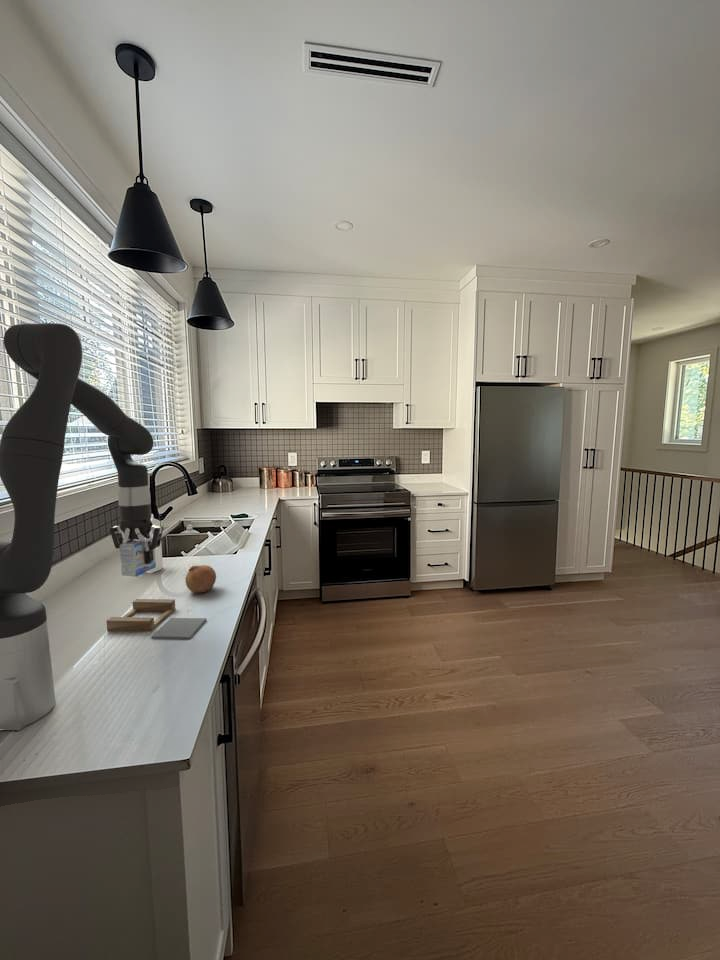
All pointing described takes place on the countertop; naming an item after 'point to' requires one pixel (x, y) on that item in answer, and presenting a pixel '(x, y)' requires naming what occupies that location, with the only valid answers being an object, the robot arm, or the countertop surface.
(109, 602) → the countertop surface
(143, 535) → the robot arm
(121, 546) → the medicine box
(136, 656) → the countertop surface
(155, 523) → the milk
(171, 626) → the mat
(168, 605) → the frame
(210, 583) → the onion
